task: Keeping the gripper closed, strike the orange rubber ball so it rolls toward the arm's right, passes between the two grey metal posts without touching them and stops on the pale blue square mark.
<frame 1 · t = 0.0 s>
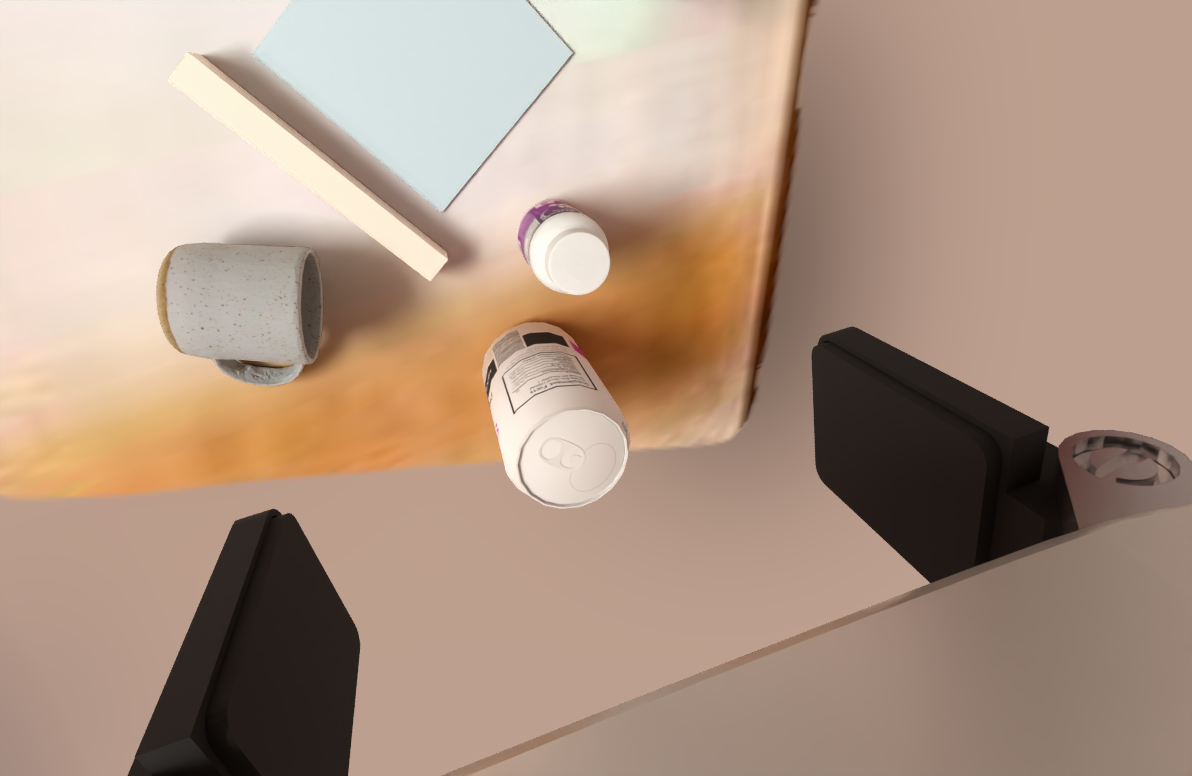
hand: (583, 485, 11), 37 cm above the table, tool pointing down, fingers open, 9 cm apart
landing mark: (421, 53, 39), on the table
ceramic mug: (267, 305, 43), on the table
pill bottle: (549, 233, 46), on the table
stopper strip: (327, 175, 41), on the table
supplement can: (531, 365, 51), on the table
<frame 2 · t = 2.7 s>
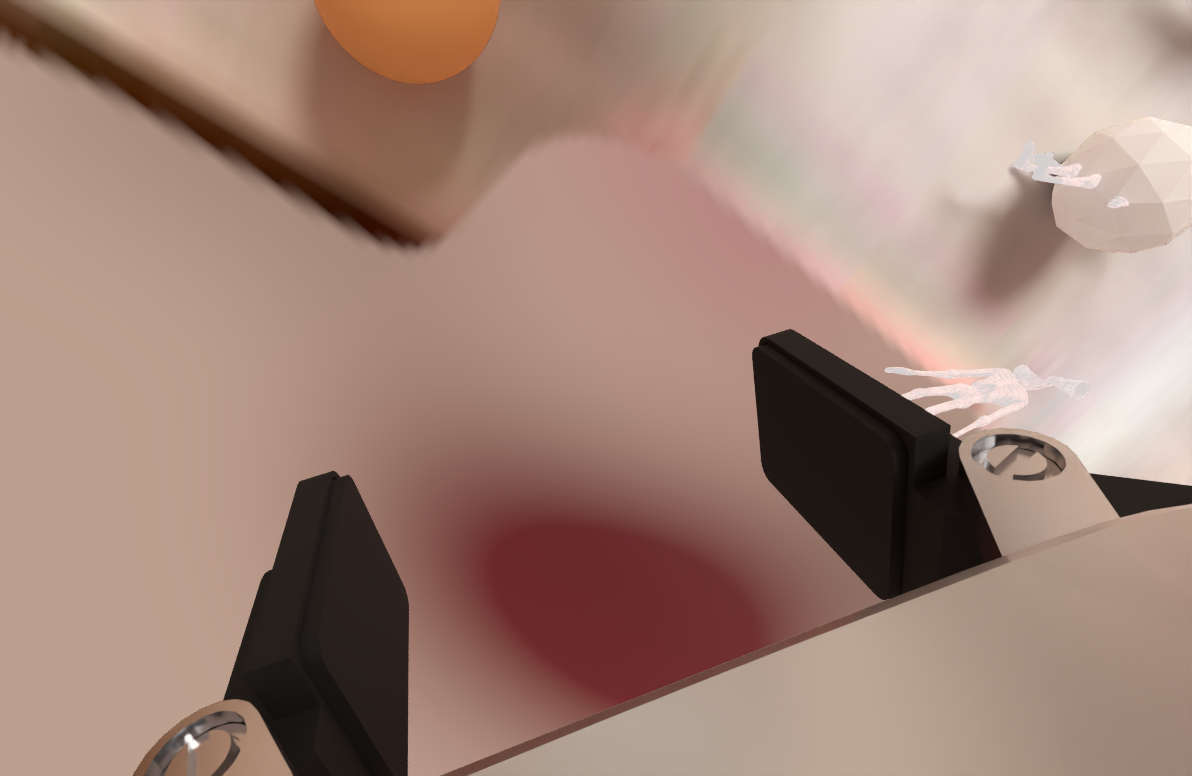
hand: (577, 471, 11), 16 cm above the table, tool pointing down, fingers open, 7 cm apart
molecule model: (1059, 177, 31), on the table
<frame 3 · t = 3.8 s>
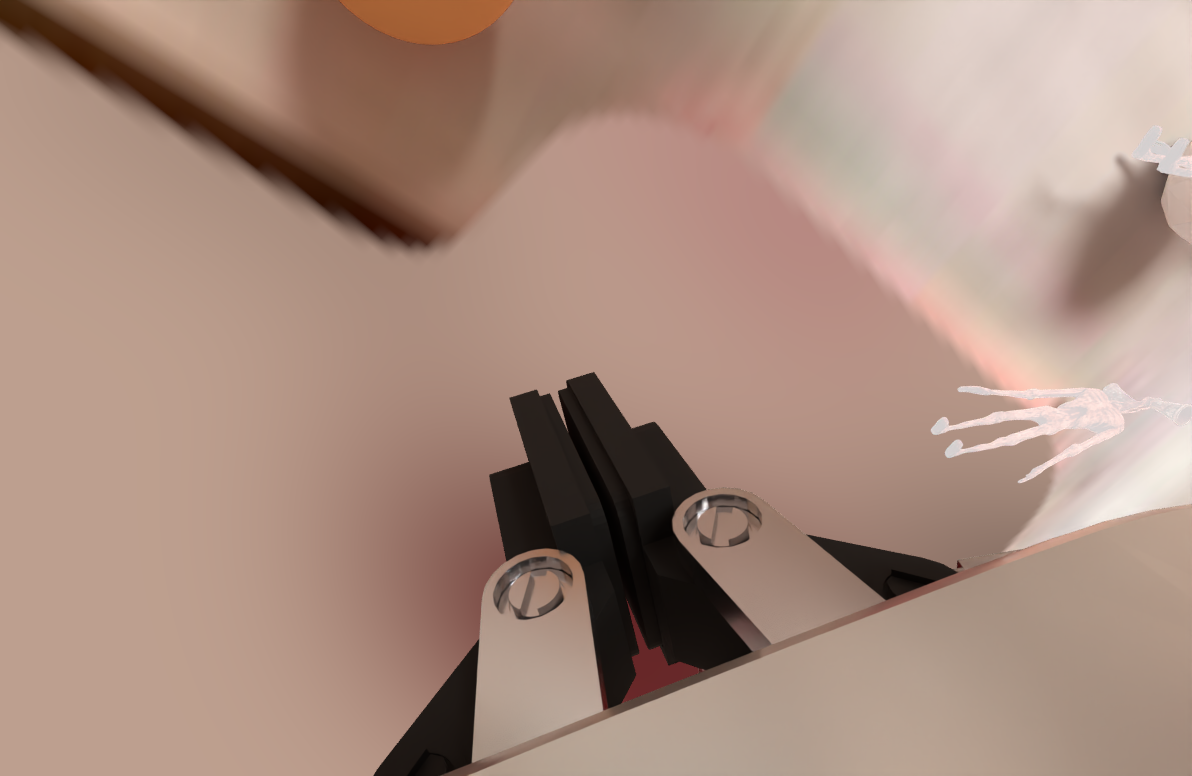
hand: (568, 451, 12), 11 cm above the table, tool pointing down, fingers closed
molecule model: (1170, 168, 27), on the table
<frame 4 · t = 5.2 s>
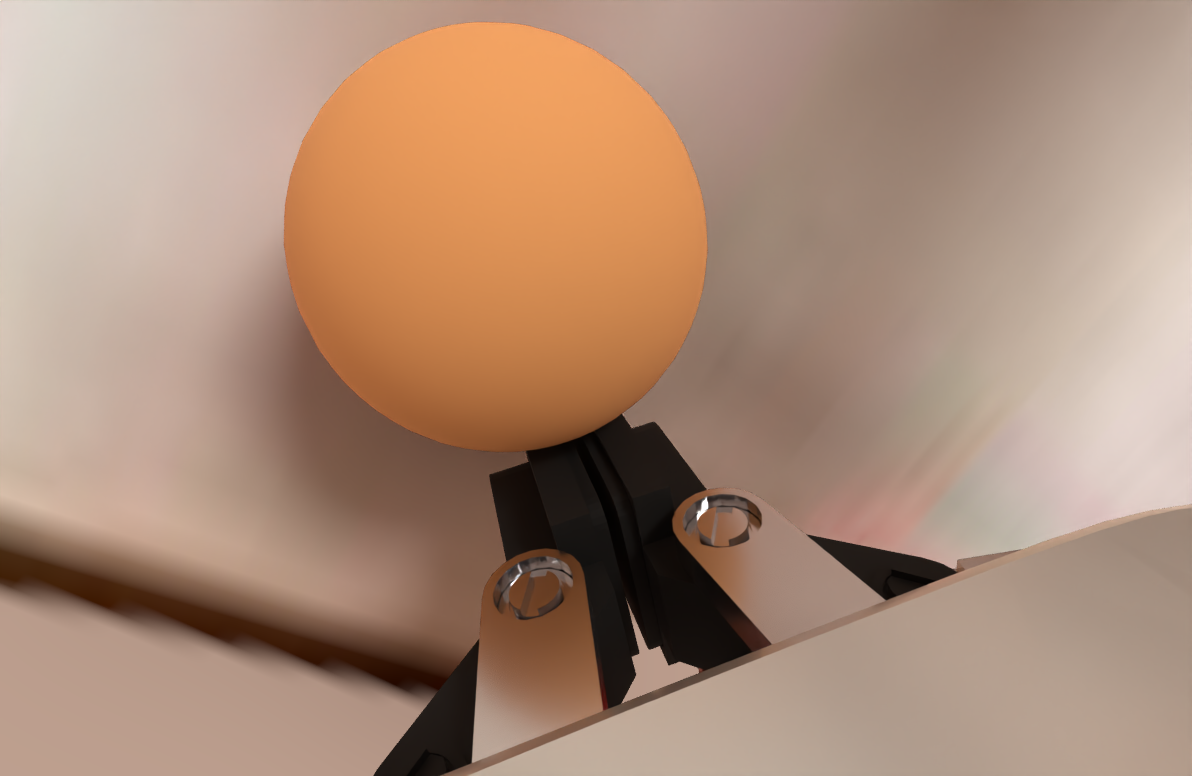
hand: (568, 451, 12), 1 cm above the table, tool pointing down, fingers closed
ball: (506, 252, 8), on the table
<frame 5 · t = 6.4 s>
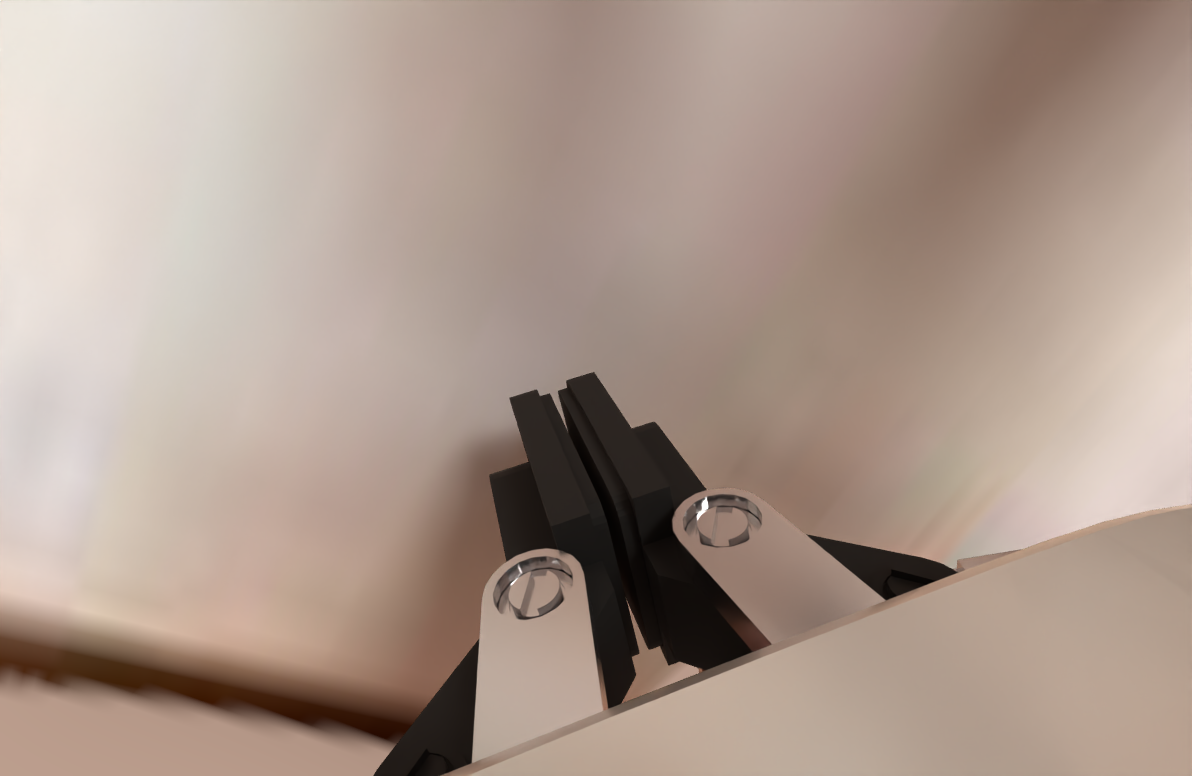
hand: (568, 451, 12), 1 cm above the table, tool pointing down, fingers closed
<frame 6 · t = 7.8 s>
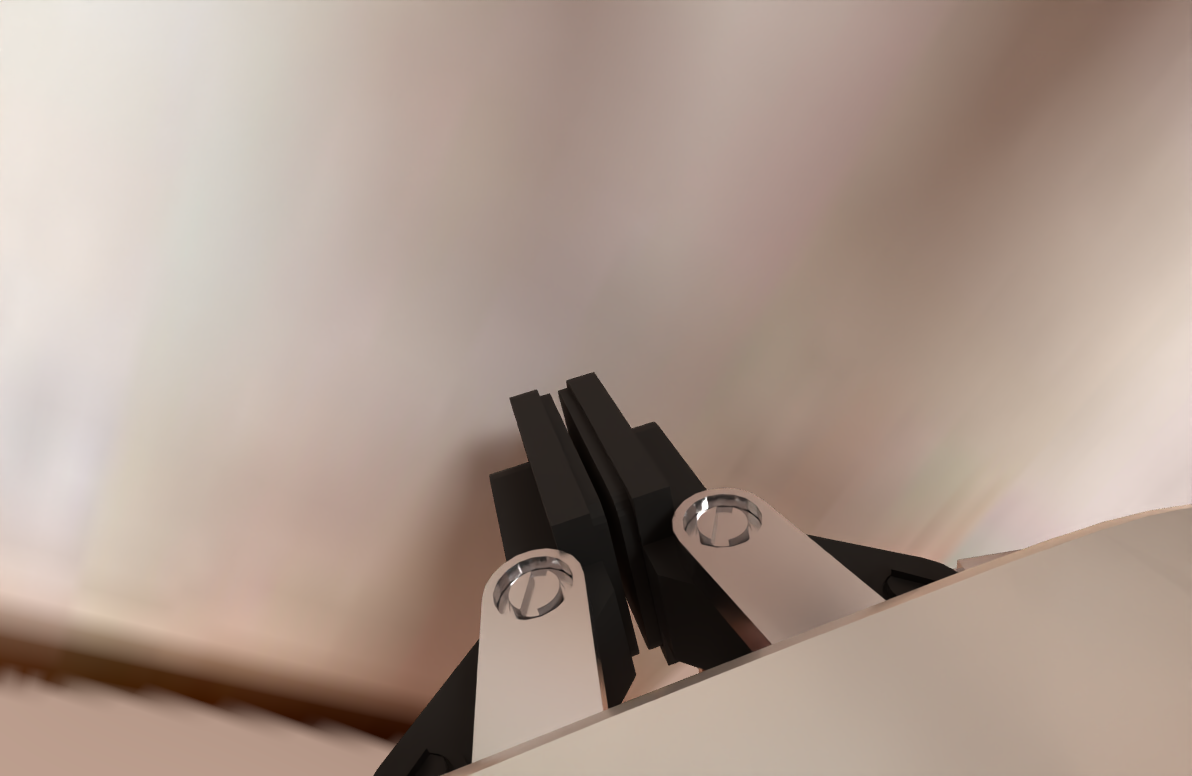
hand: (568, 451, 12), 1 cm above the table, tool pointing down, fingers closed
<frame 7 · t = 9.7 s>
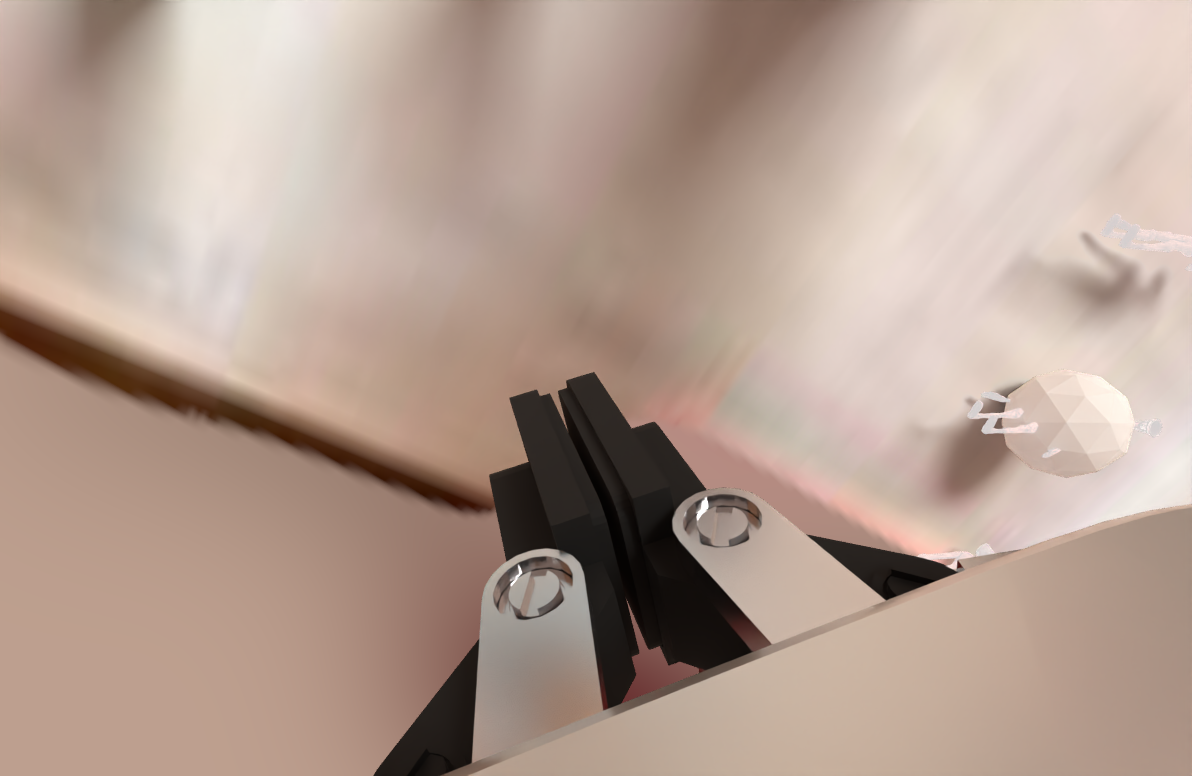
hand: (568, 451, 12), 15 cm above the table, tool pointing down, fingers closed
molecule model: (1009, 398, 37), on the table
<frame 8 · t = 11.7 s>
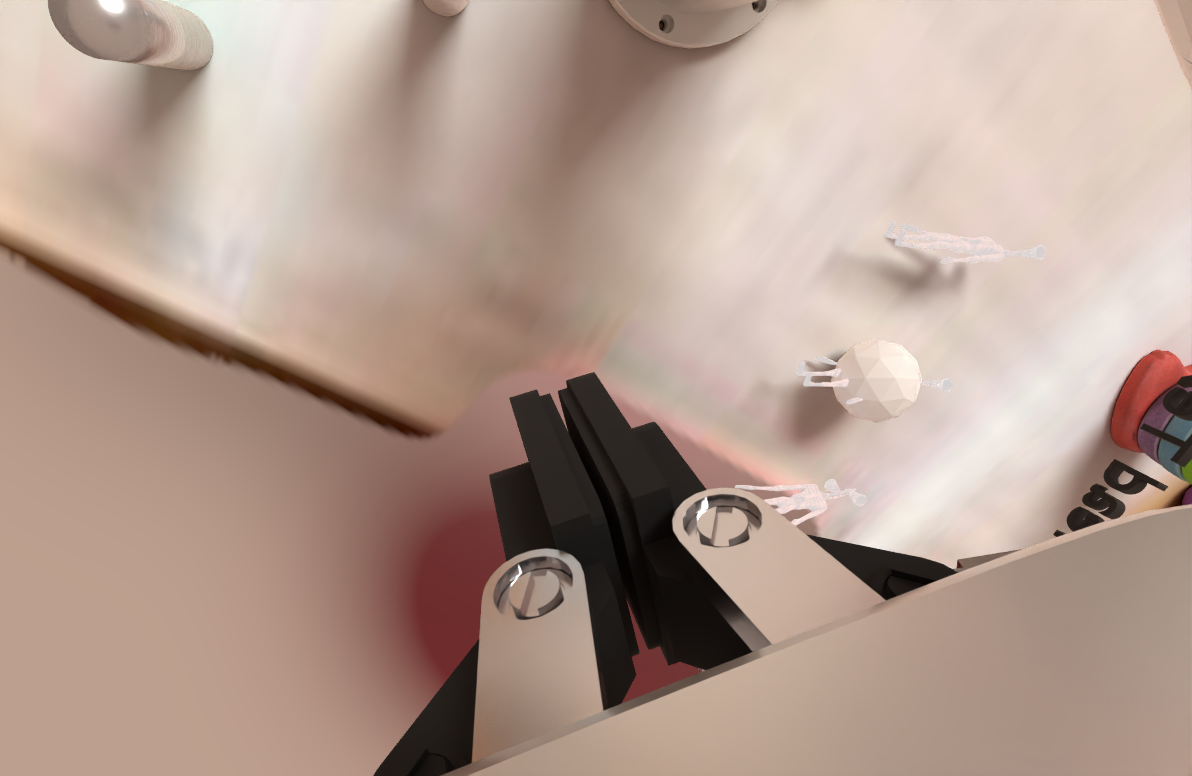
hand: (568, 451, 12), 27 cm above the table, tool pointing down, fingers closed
stacking bear: (1148, 402, 59), on the table
post 1: (181, 39, 29), on the table
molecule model: (843, 362, 48), on the table
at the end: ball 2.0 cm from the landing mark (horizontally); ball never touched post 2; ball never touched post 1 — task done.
